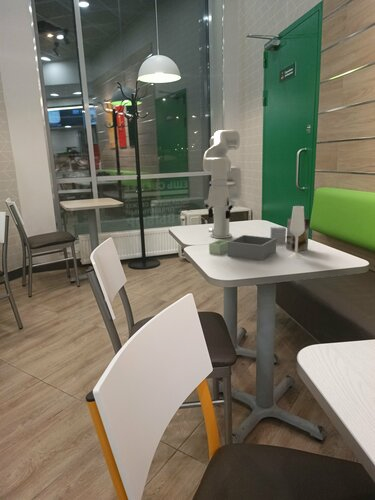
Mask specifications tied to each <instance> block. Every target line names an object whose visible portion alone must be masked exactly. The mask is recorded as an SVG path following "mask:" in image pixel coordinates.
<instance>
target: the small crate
mask: <svg viewBox="0 0 375 500" xmlns="http://www.w3.org/2000/svg"><path fill="white" fill-rule="evenodd" d="M228 241H229V240H221V239H218V240H215V241H213V242H210V243H209V244H208V245H209V246H208V250H209V254H213V253H215V255H221V253H222V254H224V253H226V252H228Z"/></svg>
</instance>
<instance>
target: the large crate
mask: <svg viewBox="0 0 375 500" xmlns="http://www.w3.org/2000/svg"><path fill="white" fill-rule="evenodd" d="M227 241H228V251H227V257H232V258H238V259H247V260H253V261H260V262H263V261H264V260H266V259H268V258H269V257H272V256H273V255H275V254H277V243H276V241H277V238H270V237H267V236H259V235H258V236H257V235H248V234H247V235H246V234H244V235H240V236H239V237H236V238H234V239H231V240H227Z"/></svg>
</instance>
